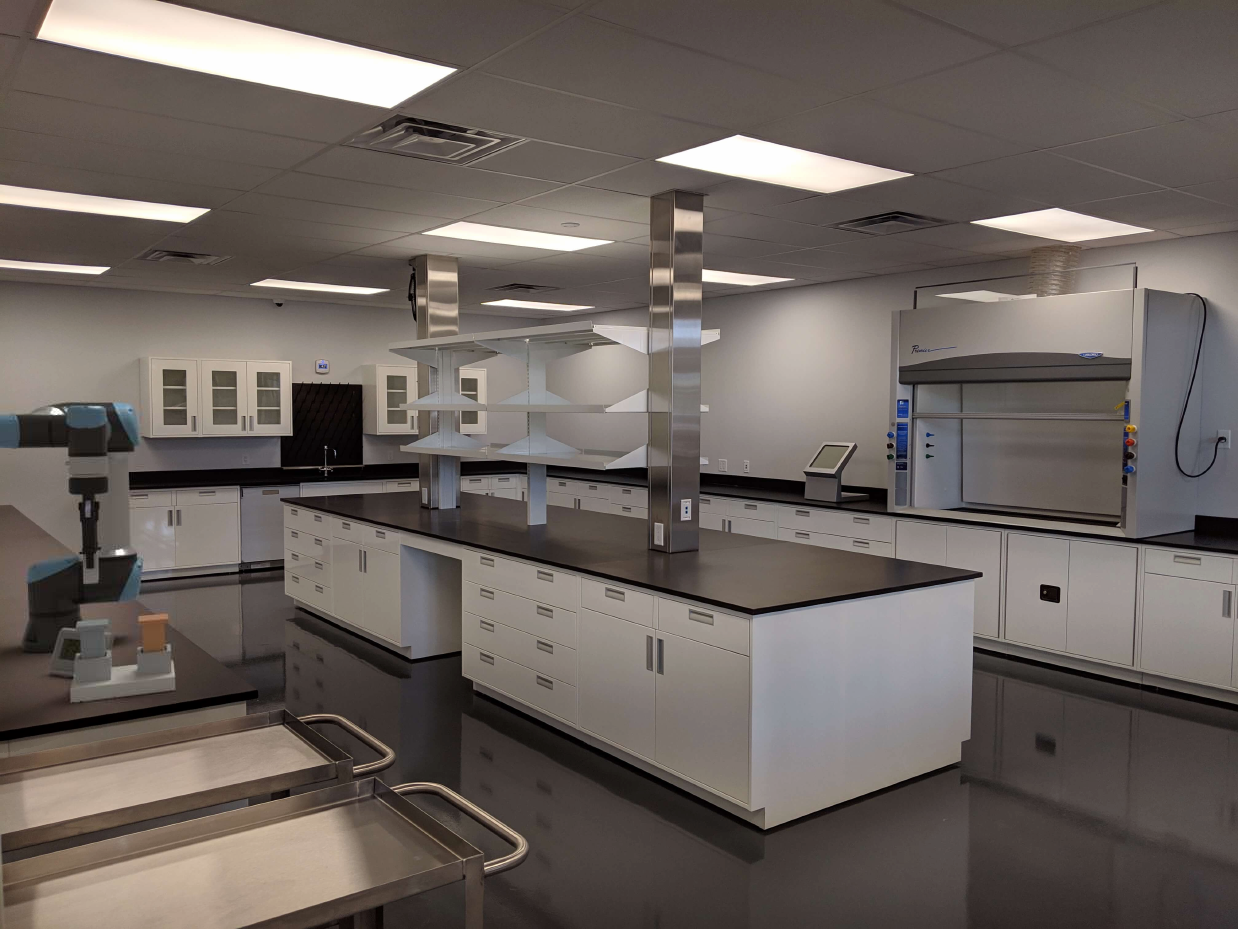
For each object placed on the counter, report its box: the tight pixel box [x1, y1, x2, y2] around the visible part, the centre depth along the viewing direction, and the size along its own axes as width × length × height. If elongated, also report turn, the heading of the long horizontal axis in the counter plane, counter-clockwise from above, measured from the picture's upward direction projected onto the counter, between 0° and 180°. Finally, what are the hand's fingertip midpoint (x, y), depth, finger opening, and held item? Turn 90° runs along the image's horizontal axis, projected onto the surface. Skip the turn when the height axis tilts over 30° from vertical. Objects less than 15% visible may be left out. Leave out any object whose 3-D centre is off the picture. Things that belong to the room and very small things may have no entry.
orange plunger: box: [137, 613, 169, 653], centre depth 204 cm, size 6×6×8 cm
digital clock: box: [48, 628, 115, 678], centre depth 211 cm, size 16×9×11 cm, turn 60°
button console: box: [69, 643, 176, 704], centre depth 202 cm, size 15×20×8 cm
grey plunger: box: [76, 618, 110, 659], centre depth 199 cm, size 6×6×8 cm
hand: (91, 581), depth 198 cm, fingers open, 3 cm apart
